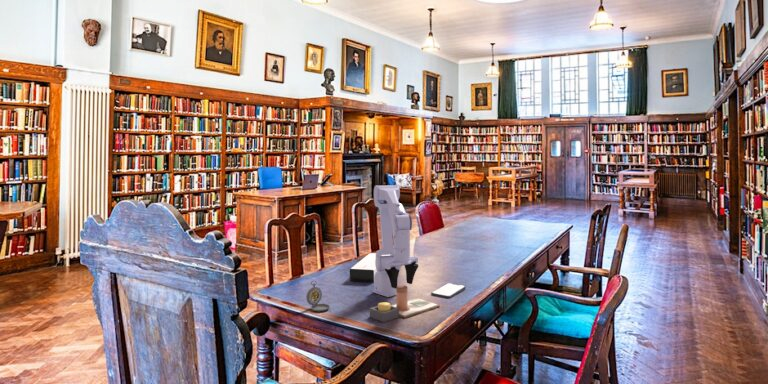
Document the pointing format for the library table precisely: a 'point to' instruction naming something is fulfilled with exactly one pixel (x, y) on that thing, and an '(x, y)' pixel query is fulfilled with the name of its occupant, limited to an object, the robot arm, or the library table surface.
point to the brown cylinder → (401, 297)
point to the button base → (384, 314)
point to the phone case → (448, 290)
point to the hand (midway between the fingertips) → (401, 285)
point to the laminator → (364, 269)
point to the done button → (384, 306)
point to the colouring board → (416, 307)
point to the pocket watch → (316, 299)
